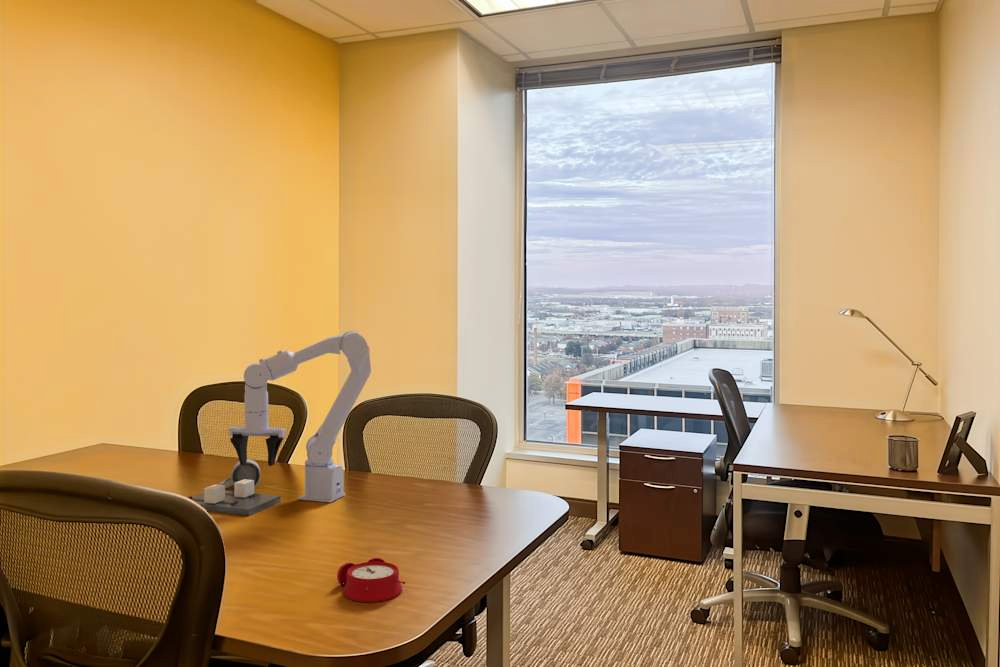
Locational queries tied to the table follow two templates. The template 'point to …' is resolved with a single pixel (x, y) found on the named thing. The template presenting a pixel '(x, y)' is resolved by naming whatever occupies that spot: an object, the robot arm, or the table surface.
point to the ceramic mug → (243, 473)
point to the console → (238, 503)
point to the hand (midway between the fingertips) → (257, 464)
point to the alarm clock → (370, 580)
